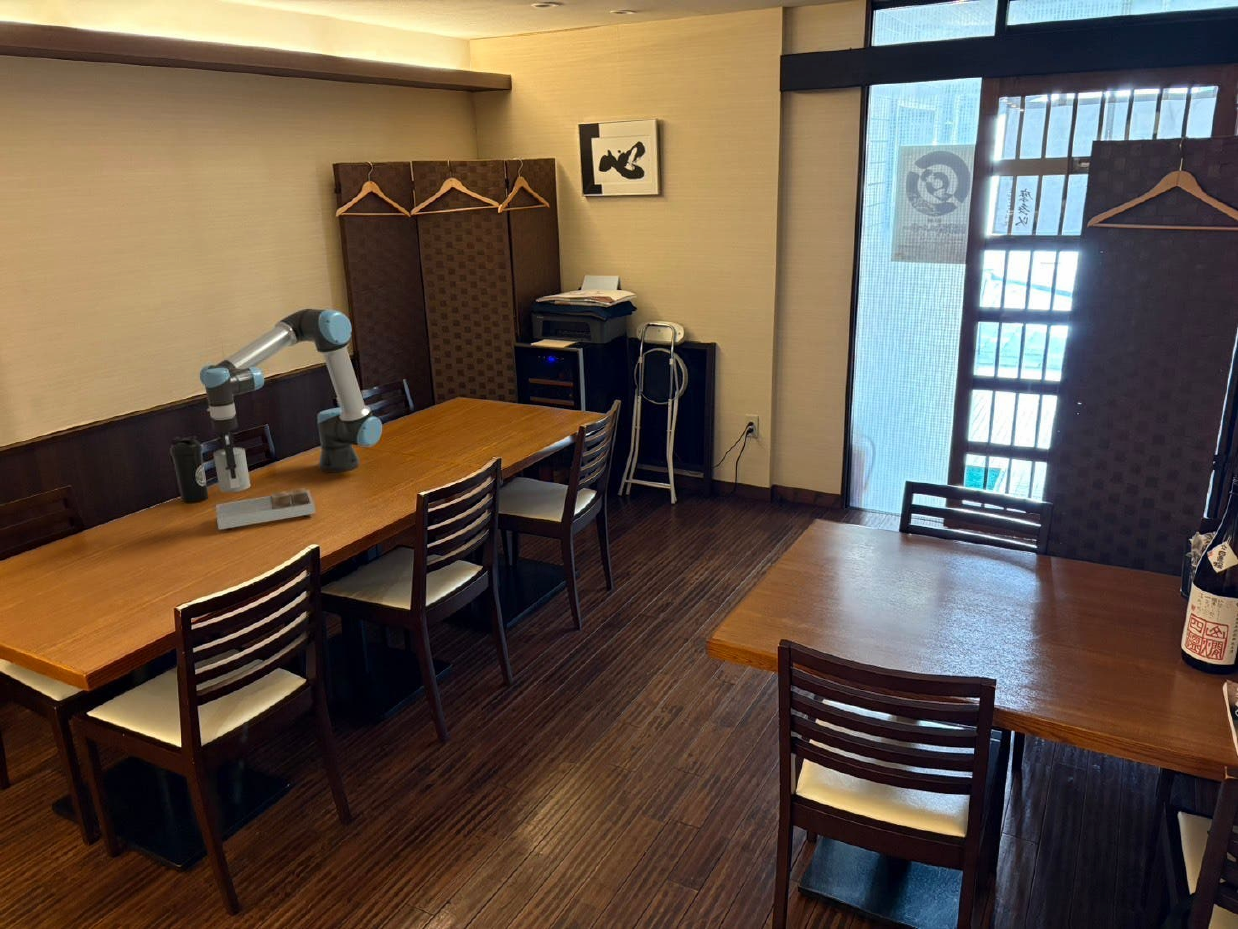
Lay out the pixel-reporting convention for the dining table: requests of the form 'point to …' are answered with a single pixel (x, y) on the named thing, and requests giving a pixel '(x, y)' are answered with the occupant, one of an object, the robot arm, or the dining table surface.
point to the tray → (258, 511)
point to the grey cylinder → (223, 473)
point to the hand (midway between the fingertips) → (234, 482)
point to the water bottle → (189, 469)
